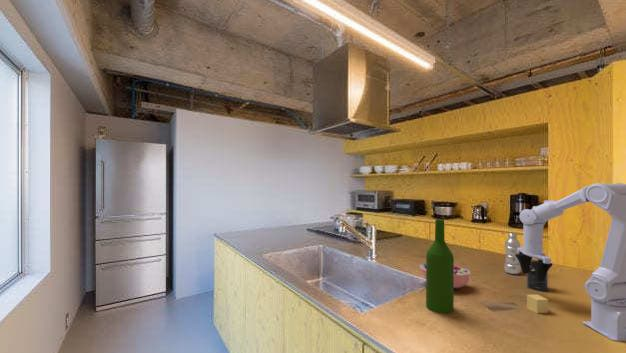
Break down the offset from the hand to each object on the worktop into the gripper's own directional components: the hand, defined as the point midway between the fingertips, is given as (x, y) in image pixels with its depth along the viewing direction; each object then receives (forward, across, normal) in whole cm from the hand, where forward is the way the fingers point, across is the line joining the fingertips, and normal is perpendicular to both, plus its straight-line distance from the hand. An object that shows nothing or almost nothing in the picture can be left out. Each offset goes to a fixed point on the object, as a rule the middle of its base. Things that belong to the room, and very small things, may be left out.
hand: (532, 276), depth 103 cm
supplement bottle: (+10, +12, -10) cm, 18 cm away
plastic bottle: (+10, +32, -13) cm, 36 cm away
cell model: (+10, +12, +28) cm, 32 cm away
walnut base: (+10, -10, +15) cm, 20 cm away
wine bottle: (+10, -9, +38) cm, 40 cm away
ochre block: (+10, -9, +5) cm, 14 cm away
